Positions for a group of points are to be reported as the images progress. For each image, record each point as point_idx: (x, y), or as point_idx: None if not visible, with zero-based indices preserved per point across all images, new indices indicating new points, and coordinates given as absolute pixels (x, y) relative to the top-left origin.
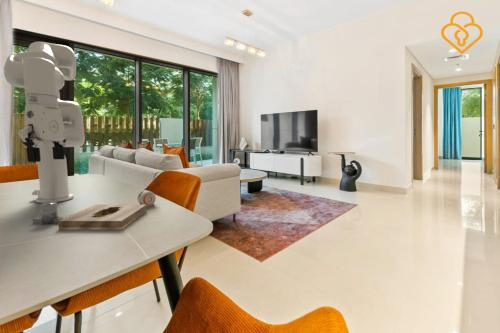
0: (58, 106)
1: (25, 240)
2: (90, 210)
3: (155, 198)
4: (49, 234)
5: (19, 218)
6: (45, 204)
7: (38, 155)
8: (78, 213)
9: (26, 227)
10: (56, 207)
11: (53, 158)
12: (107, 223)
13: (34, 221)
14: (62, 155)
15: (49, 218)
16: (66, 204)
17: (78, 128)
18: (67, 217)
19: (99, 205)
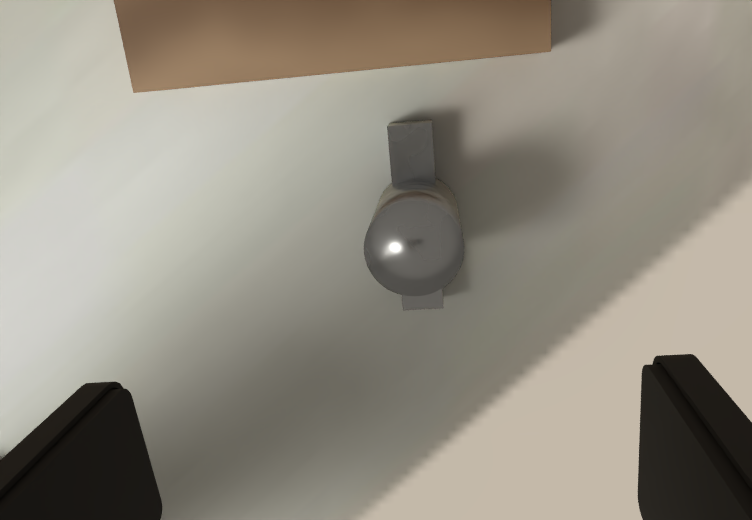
0: None
1: (720, 100)
2: (289, 6)
3: None
4: (627, 39)
5: (364, 439)
6: (437, 254)
7: (734, 414)
8: (373, 42)
9: (508, 277)
10: (401, 195)
11: (157, 518)
12: None
13: (442, 292)
14: (90, 419)
15: (450, 197)
16: None
17: None
18: (471, 48)
19: (152, 37)
